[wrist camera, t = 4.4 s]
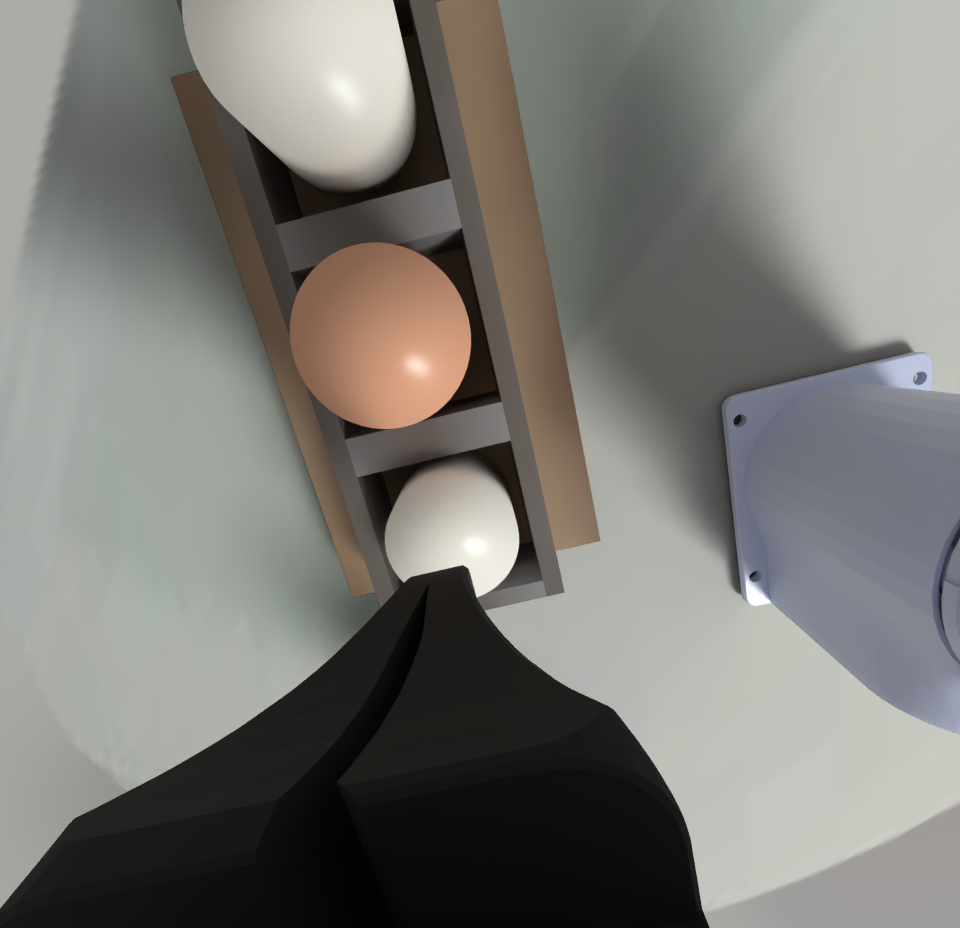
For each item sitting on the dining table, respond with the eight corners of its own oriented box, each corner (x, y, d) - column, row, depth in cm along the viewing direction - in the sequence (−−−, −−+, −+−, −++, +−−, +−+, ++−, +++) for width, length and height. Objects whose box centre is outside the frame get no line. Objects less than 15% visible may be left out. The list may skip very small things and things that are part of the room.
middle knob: (484, 388, 15) (489, 406, 11) (360, 419, 15) (323, 446, 11) (452, 252, 14) (445, 221, 10) (318, 286, 14) (263, 268, 10)
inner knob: (519, 535, 18) (531, 585, 15) (418, 558, 18) (405, 614, 15) (495, 436, 17) (502, 463, 14) (389, 461, 17) (367, 495, 14)
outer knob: (433, 175, 13) (419, 113, 9) (295, 212, 13) (228, 165, 10) (393, 3, 12) (359, -142, 8) (243, 46, 12) (146, -79, 9)
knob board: (492, 28, 16) (501, -108, 11) (587, 521, 20) (624, 578, 16) (206, 108, 16) (93, 11, 11) (363, 573, 21) (331, 644, 16)
